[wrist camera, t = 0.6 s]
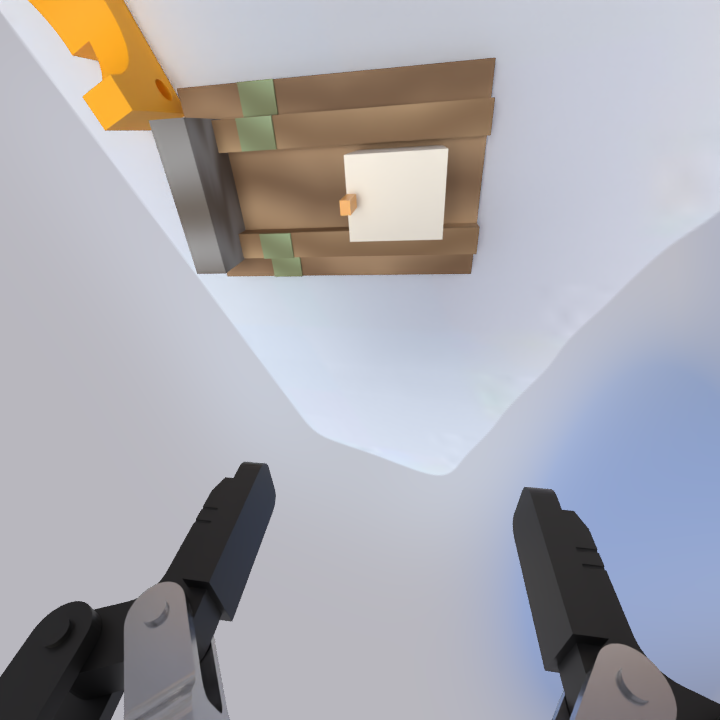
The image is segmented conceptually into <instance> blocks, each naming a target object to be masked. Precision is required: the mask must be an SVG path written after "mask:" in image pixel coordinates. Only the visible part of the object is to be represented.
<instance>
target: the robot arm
mask: <svg viewBox="0 0 720 720" xmlns="http://www.w3.org/2000/svg"><path fill="white" fill-rule="evenodd" d="M275 497H276V494H275V489H274V485H273V481H272V478H271V474H270V471H269V467H268V465H267V464H265V463H252V462H243V463H242V464H241V465H240V467H239V469H238V471H237V472H236V474H235V477H234V478H226V477H225V479H223V480H222V481H221V482H220V483H219V484H218V485H217V486H216V487H215V488H214V489H213V490H212V492H211V493H210V495H209V497H208V499H207V500H206V502H205V504H204V506H203V509H202V510H201V511H200V513H199V515H198V517H197V518H196V522H195V523H194V524H193V526H192V527H191V529H190V531H189V533H188V534H187V536H186V538H185V540H184V542H183V544H182V545H181V547H180V549H179V551H178V552H177V554H176V556H175V558H174V560H173V561H172V564H171V565H170V567H169V569H168V571H167V572H166V574H165V575H164V577H163V578H162V579H161V581H160V582H159V583H158V584H156V585H154V586H152V587H150V588H149V589H147V590H146V591H145V592H143V593H142V594H141V595H140V596H139V597H138V598H137V599H135V600H131V601H128V602H124V603H120V604H116V605H111V606H107V607H103V608H99V609H95V610H93V609H92V608H91V607H90V606H89V605H88V604H86V603H85V602H80V601H75V602H71V603H67V604H65V605H63V606H60V607H59V608H57V609H56V610H54V611H52V612H51V613H50V614H49V615H47V616H46V617H45V618H44V619H43V620H42V621H41V622H40V623H39V624H38V625H37V626H36V627H35V629H34V630H33V631H32V633H31V634H30V636H29V637H28V638H27V640H26V642H25V643H24V644H23V646H22V647H21V648H20V650H19V651H18V653H17V654H16V655H15V657H14V658H13V660H12V661H11V663H10V664H9V665H8V667H7V668H6V670H5V671H4V672H3V674H2V675H1V677H0V720H111V718H112V716H113V714H114V711H115V710H116V707H117V705H118V703H119V701H120V699H121V697H122V695H123V692H124V720H230V719H229V715H228V711H227V707H226V701H225V696H224V690H223V684H222V679H221V674H220V668H219V662H218V657H217V651H216V645H215V640H214V636H213V635H214V633H215V630H216V628H217V625H218V623H219V620H225V621H232V620H233V618H234V615H235V612H236V609H237V607H238V604H239V601H240V599H241V596H242V593H243V591H244V588H245V585H246V583H247V580H248V577H249V574H250V572H251V569H252V566H253V564H254V561H255V558H256V555H257V553H258V550H259V547H260V545H261V542H262V539H263V536H264V534H265V531H266V529H267V526H268V523H269V520H270V517H271V515H272V512H273V509H274V505H275ZM513 533H514V539H515V543H516V547H517V552H518V556H519V560H520V565H521V568H522V573H523V578H524V582H525V586H526V591H527V595H528V599H529V604H530V608H531V612H532V616H533V621H534V625H535V629H536V634H537V638H538V642H539V647H540V651H541V655H542V660H543V664H544V669H545V670H546V671H551V672H558V673H560V677H561V681H562V684H563V688H564V691H563V693H562V695H561V698H560V700H559V703H558V705H557V708H556V710H555V713H554V715H553V718H552V720H720V704H718V703H716V702H714V701H712V700H710V699H708V698H706V697H704V696H702V695H700V694H698V693H696V692H694V691H691V690H689V689H687V688H685V687H683V686H681V685H680V684H678V683H676V682H674V681H673V680H671V679H670V678H668V677H667V676H666V675H665V674H663V673H662V672H661V671H660V670H659V669H658V668H657V667H656V666H655V665H654V664H653V663H652V662H651V661H650V660H649V659H648V658H647V657H646V655H645V654H644V653H643V651H642V650H641V649H640V647H639V645H638V644H637V642H636V640H635V638H634V636H633V634H632V631H631V629H630V626H629V624H628V622H627V619H626V617H625V615H624V612H623V610H622V607H621V605H620V602H619V600H618V598H617V595H616V593H615V591H614V588H613V586H612V583H611V581H610V579H609V576H608V574H607V571H606V570H604V564H603V562H602V559H601V557H600V555H599V553H597V547H596V545H595V543H594V540H593V538H592V536H591V533H590V531H589V529H588V528H587V526H586V525H585V524H584V523H583V522H582V520H581V519H580V518H579V517H578V516H577V514H576V513H575V512H574V511H568V510H562V509H561V506H560V504H559V501H558V498H557V496H556V494H555V492H554V491H553V490H552V489H542V488H531V487H524V489H523V490H522V493H521V496H520V499H519V502H518V505H517V508H516V510H515V513H514V517H513Z"/></svg>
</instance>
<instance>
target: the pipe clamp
mask: <svg viewBox="0 0 720 720" xmlns="http://www.w3.org/2000/svg"><path fill="white" fill-rule="evenodd" d="M28 1H29V2H30V3H31V4H32V5H33V6H34V7H35V8H36V9H37V10H38V11H39V12H40V13H41V14H42V15H43V17H44V18H45V19H46V20H47V21H48V22H49V23H50V25H51V26H52V27H53V28H54V30H55V31H56V32H57V33H58V35H59V36H60V37H61V39H62V40H63V42H64V43H65V44H66V46H67V48H68V49H69V51H70V52H71V54H72V55H73V56H78V57H82V58H87V59H92V60H96V61H99V64H100V67H101V71H102V81H101V82H100V83H99V84H98V85H96V86H95V87H94V88H93V89H91V90H90V91H89V92H88V93H86V94H85V95H84V96H83V98H84V100H85V101H86V103H87V104H88V106H89V107H90V109H91V110H92V112H93V113H94V115H95V116H96V118H97V119H98V121H99V122H100V124H101V125H102V127H103V128H104V129H105V131H107V130H151V126H150V123H149V120H158V119H170V118H182V117H184V113H183V109H182V106H181V102H180V100H179V98H178V96H177V94H176V93H175V91H174V89H173V87H172V86H171V84H170V82H169V80H168V78H167V77H166V75H165V73H164V71H163V70H162V68H161V66H160V64H159V63H158V61H157V59H156V57H155V55H154V54H153V52H152V50H151V48H150V47H149V45H148V43H147V41H146V40H145V38H144V36H143V34H142V33H141V31H140V29H139V27H138V25H137V24H136V22H135V20H134V18H133V17H132V15H131V13H130V11H129V10H128V8H127V6H126V4H125V2H124V1H123V0H28Z"/></svg>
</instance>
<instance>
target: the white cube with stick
mask: <svg viewBox="0 0 720 720" xmlns="http://www.w3.org/2000/svg"><path fill="white" fill-rule="evenodd" d="M447 161H448V148H447V147H445V146H444V145H428V146H412V147H397V148H381V149H365V150H357V151H354V152H351V153H348V154H345V155H344V166H345V180H346V193H347V194H346V195H345V196H344V197H343V198H342V199H341V200H340V201H339V202H340V214H341V216H347V215H348V221H349V234H350V242H363V241H404V240H442V237H443V222H444V207H445V192H446V177H447Z"/></svg>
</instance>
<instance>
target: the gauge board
mask: <svg viewBox="0 0 720 720" xmlns="http://www.w3.org/2000/svg"><path fill="white" fill-rule="evenodd" d="M495 59H496V58H487V59H477V60H467V61H456V62H446V63H436V64H425V65H415V66H405V67H394V68H384V69H374V70H363V71H353V72H343V73H333V74H322V75H312V76H302V77H291V78H281V79H266V80H256V81H246V82H237V83H230V84H219V85H209V86H199V87H188V88H178V89H177V91H178V95H179V98H180V102H181V106H182V109H183V113H184V117H182V118H170V119H158V120H149V123H150V126H151V130H152V133H153V136H154V139H155V142H156V145H157V148H158V152H159V155H160V158H161V161H162V164H163V167H164V170H165V174H166V177H167V180H168V183H169V186H170V189H171V192H172V195H173V199H174V202H175V205H176V208H177V211H178V214H179V217H180V221H181V224H182V227H183V230H184V233H185V236H186V239H187V243H188V246H189V249H190V252H191V255H192V258H193V261H194V265H195V268H196V271H197V274H217V273H227V275H228V276H275V277H280V276H304V275H398V274H471V269H472V260H473V254H476V252H477V244H478V236H479V226H478V224H477V216H478V208H479V199H480V190H481V181H482V173H483V164H484V155H485V146H486V138H487V135H491V127H492V118H493V110H494V102H495V97H494V98H491V94H492V85H493V77H494V68H495ZM428 145H444V146H445V147H447V148H448V161H447V177H446V192H445V207H444V222H443V237H442V240H404V241H363V242H350V234H349V221H348V215H347V216H341V214H340V202H339V201H340V200H341V199H342V198H343V197H344V196H345V195H346V194H347V193H346V180H345V166H344V155H345V154H348V153H351V152H354V151H357V150H365V149H381V148H397V147H412V146H428Z"/></svg>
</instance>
